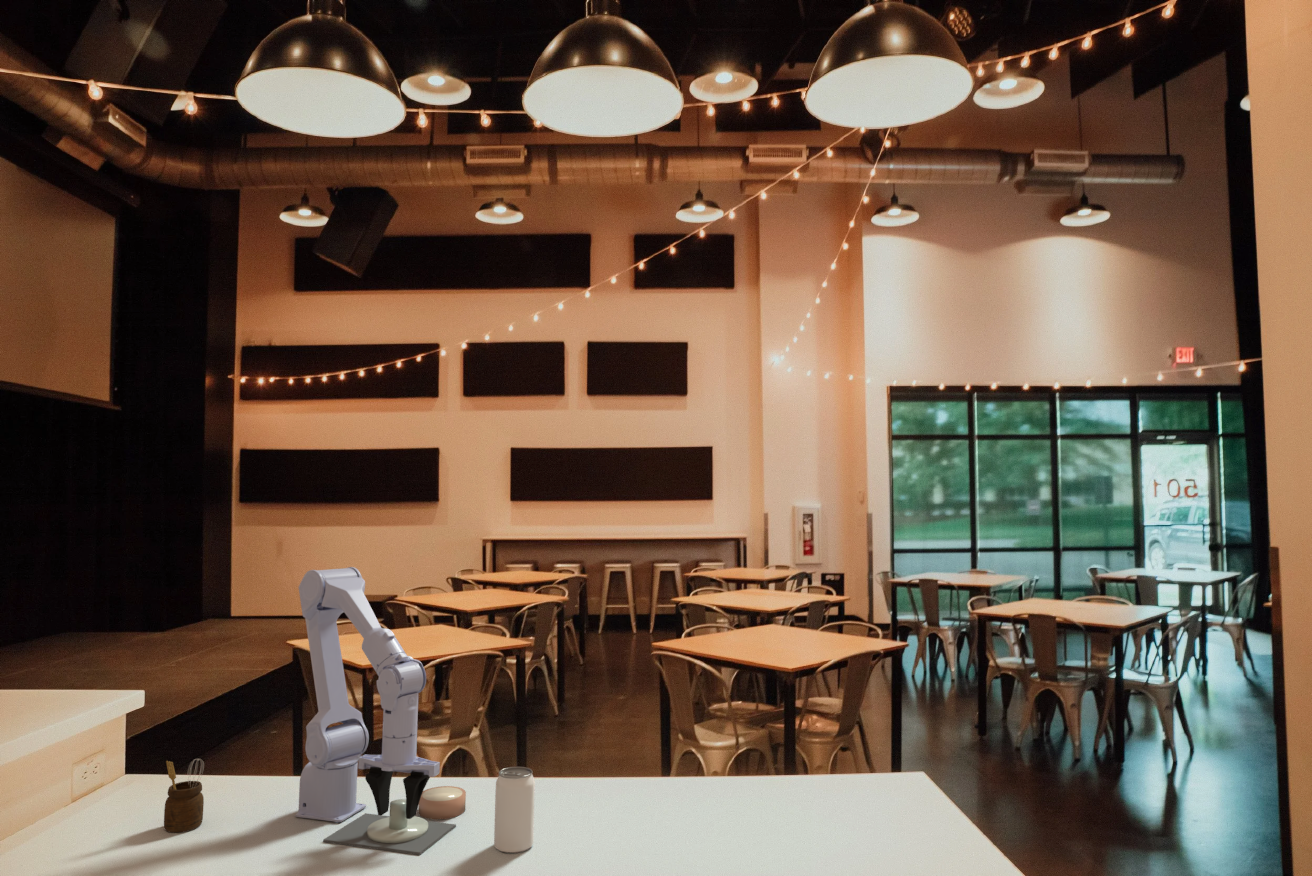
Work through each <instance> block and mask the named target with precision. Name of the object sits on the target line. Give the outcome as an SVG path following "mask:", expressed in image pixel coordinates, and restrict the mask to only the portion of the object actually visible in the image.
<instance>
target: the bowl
mask: <svg viewBox="0 0 1312 876" xmlns="http://www.w3.org/2000/svg"><path fill="white" fill-rule="evenodd" d="M466 798H467V791H466V790H465V789H464V788H461V787H459V786H454V785H453V786H452V785H451V786H450V785H447V786H445V785H442V786H435V787H430V788H427V789H425V790H423V792H422V795H421V798H420V801H419V804H418V808H417V812H418V813H417V814H418V815H419V817H420V818H423V819H425V820H435V821H436V820H437V821H438V820H439V821H440V820H441V821H442V820H447V819H452V818H456V817H459V816H461V815H462V814H464V813H465V811H466Z"/></svg>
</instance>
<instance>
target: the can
mask: <svg viewBox="0 0 1312 876" xmlns="http://www.w3.org/2000/svg"><path fill="white" fill-rule="evenodd" d="M533 773H534V772H533V770H532V768H529V767H525V766H510V767H505V768H502V769H500V770H499V772H498V776H497V779H496V782H495V795H494V796H495V798H494V833H493V836H494V837H493V839H494V841H493V842H494V845H493V846H494V848H495V849H496V850H497V851H499V852H501V853H504V854H520V853H524V852H527V851H528V850H530V848H531V847H532V846H533V845H534V837H535V836H534V833H535V831H534V830H535V798H536V797H535V796H536V794H535V793H536V792H535V791H536V789H535V787H536V780H535V778H534V775H533Z"/></svg>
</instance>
